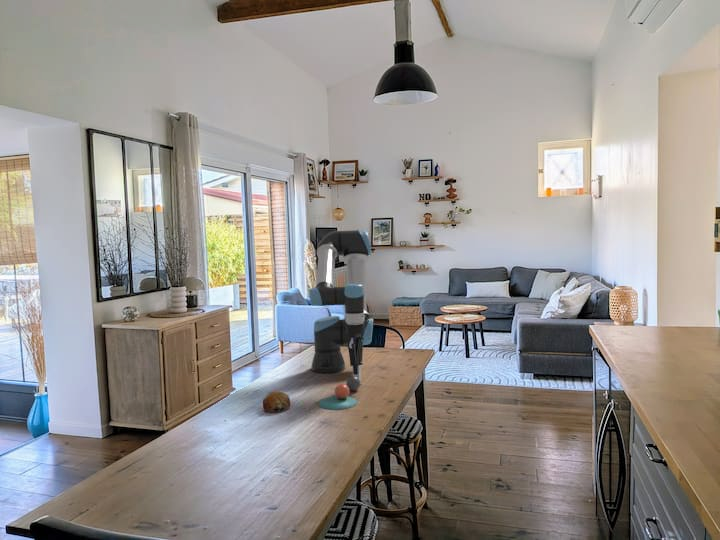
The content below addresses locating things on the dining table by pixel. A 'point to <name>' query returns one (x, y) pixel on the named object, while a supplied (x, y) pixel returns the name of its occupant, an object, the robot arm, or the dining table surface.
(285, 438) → the dining table surface
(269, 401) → the bread roll
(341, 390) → the red ball
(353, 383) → the gray ball
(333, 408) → the teal mark
